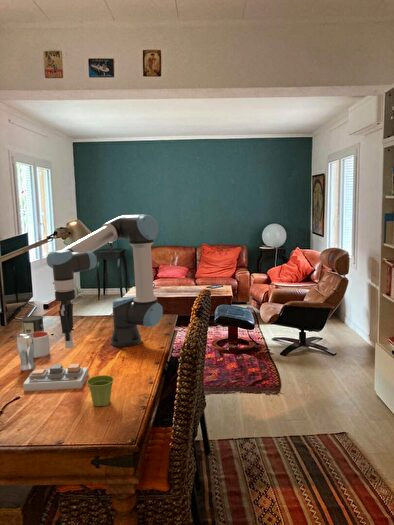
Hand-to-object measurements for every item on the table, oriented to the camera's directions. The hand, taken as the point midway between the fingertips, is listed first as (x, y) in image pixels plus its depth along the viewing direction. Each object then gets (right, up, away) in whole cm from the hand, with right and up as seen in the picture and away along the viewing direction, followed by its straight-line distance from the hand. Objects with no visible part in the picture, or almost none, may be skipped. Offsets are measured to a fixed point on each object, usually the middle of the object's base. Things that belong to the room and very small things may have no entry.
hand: (69, 347), depth 178 cm
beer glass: (-23, -13, +18) cm, 32 cm away
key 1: (-12, -11, +1) cm, 17 cm away
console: (-5, -14, +2) cm, 15 cm away
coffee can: (-32, -8, +50) cm, 60 cm away
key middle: (-5, -9, +1) cm, 11 cm away
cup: (-24, -10, +34) cm, 43 cm away
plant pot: (+17, -17, -18) cm, 30 cm away
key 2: (+2, -9, +1) cm, 9 cm away
